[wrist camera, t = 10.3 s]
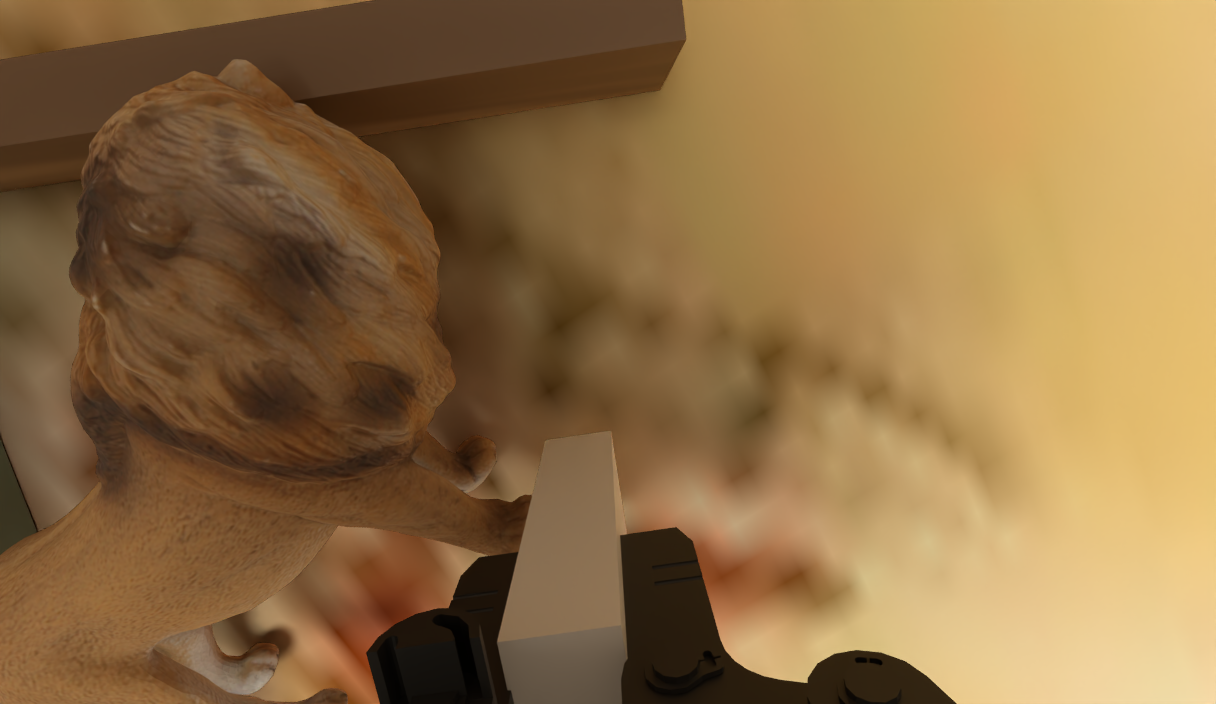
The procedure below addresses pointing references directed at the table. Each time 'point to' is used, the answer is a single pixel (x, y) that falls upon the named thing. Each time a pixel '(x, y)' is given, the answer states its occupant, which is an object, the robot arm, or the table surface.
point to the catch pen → (338, 82)
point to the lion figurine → (235, 394)
